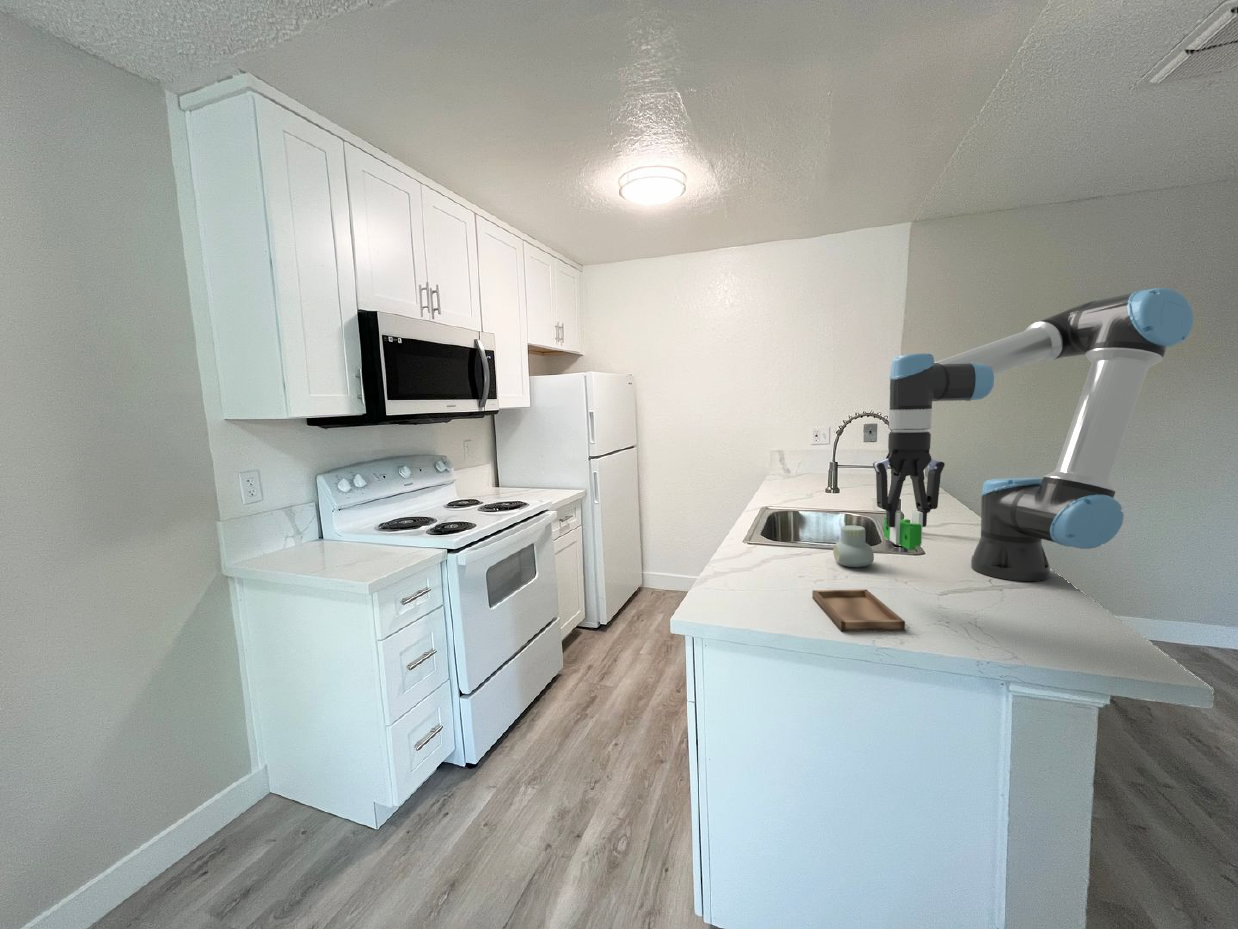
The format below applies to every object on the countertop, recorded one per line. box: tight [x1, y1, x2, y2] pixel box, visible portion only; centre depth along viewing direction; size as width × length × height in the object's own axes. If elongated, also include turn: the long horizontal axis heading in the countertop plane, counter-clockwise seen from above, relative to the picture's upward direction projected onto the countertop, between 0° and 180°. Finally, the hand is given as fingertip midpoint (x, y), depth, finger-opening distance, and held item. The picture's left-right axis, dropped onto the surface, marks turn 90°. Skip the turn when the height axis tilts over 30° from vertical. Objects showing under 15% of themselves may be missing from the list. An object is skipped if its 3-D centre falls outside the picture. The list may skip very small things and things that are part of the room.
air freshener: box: [832, 524, 875, 568], centre depth 131 cm, size 11×8×10 cm
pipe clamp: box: [883, 516, 922, 551], centre depth 104 cm, size 11×4×5 cm, turn 176°
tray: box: [811, 589, 906, 632], centre depth 101 cm, size 12×17×2 cm
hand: (905, 541), depth 104 cm, fingers closed on pipe clamp, 4 cm apart
